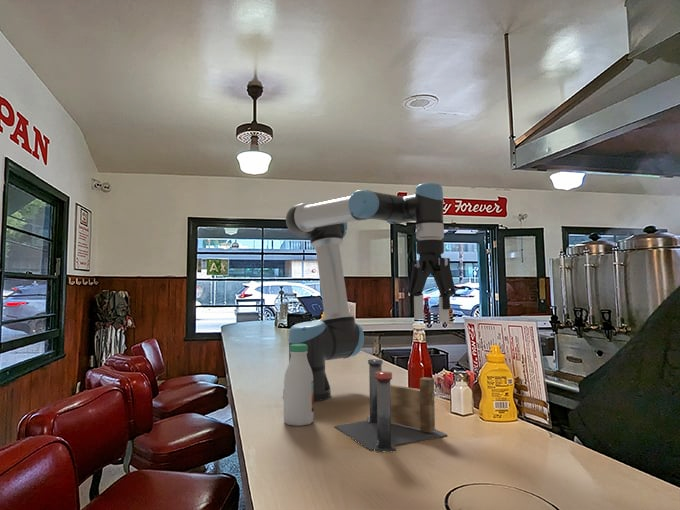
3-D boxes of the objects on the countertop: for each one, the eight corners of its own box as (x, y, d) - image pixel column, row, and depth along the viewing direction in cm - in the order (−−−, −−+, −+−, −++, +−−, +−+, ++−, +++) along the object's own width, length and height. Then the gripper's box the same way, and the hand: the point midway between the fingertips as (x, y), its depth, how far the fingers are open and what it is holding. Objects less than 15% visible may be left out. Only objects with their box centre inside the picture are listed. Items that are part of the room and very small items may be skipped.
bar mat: (334, 427, 113) (334, 425, 113) (404, 416, 122) (404, 414, 122) (370, 450, 97) (370, 449, 97) (447, 436, 106) (447, 434, 106)
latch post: (373, 444, 101) (372, 371, 102) (392, 444, 101) (392, 370, 102) (375, 451, 97) (374, 375, 98) (395, 451, 97) (394, 374, 98)
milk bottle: (309, 427, 113) (309, 346, 114) (279, 425, 115) (280, 346, 116) (316, 418, 121) (316, 342, 122) (289, 416, 122) (289, 342, 123)
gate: (380, 421, 115) (379, 373, 116) (385, 419, 117) (385, 371, 118) (431, 433, 106) (430, 380, 107) (436, 430, 108) (435, 378, 109)
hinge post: (366, 419, 120) (366, 359, 121) (383, 419, 120) (382, 358, 121) (368, 424, 115) (367, 361, 116) (385, 424, 115) (384, 361, 116)
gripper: (395, 242, 133) (396, 318, 132) (445, 235, 113) (447, 324, 111) (416, 243, 136) (417, 317, 135) (469, 236, 116) (471, 323, 115)
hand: (431, 320), depth 123 cm, fingers open, 10 cm apart
